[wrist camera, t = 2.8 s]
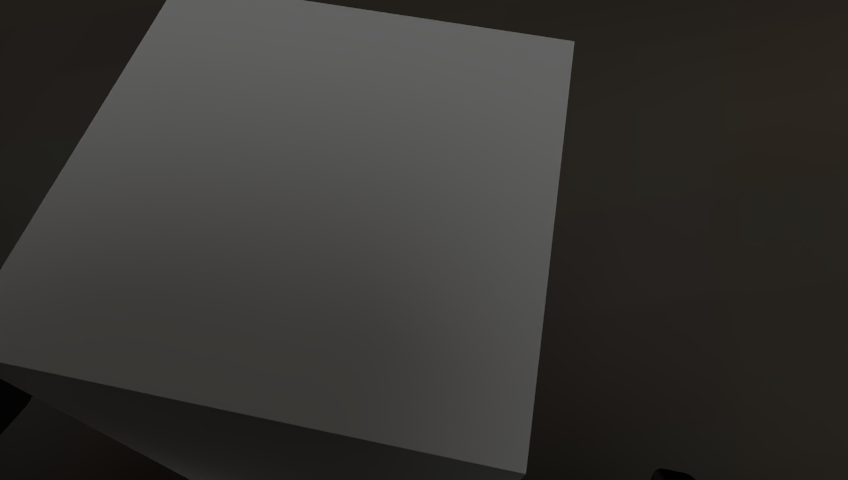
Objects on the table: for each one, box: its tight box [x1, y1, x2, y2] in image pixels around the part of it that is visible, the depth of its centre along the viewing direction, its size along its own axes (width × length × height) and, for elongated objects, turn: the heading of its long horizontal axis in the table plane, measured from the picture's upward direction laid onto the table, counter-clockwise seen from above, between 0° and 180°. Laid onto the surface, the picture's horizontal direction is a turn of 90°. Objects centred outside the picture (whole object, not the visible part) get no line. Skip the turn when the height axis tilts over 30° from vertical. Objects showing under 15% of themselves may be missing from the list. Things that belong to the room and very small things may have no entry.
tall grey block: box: [0, 0, 574, 480], centre depth 11 cm, size 4×4×13 cm
